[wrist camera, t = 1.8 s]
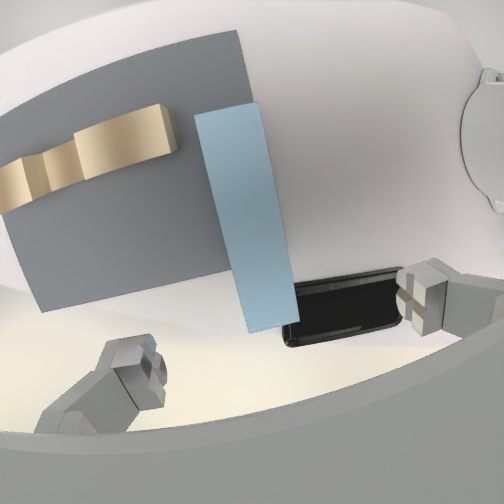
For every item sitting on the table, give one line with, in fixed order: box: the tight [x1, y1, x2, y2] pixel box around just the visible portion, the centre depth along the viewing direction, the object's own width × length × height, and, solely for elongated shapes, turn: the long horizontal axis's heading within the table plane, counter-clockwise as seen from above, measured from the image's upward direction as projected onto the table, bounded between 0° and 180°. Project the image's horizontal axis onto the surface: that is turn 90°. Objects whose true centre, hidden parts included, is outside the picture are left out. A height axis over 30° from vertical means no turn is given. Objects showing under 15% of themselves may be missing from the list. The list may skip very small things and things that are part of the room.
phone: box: [282, 267, 403, 347], centre depth 35 cm, size 8×1×15 cm
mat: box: [0, 30, 253, 313], centre depth 27 cm, size 28×22×1 cm
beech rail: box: [0, 104, 181, 215], centre depth 23 cm, size 18×4×7 cm, turn 102°
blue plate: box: [194, 102, 300, 334], centre depth 24 cm, size 4×14×11 cm, turn 12°
